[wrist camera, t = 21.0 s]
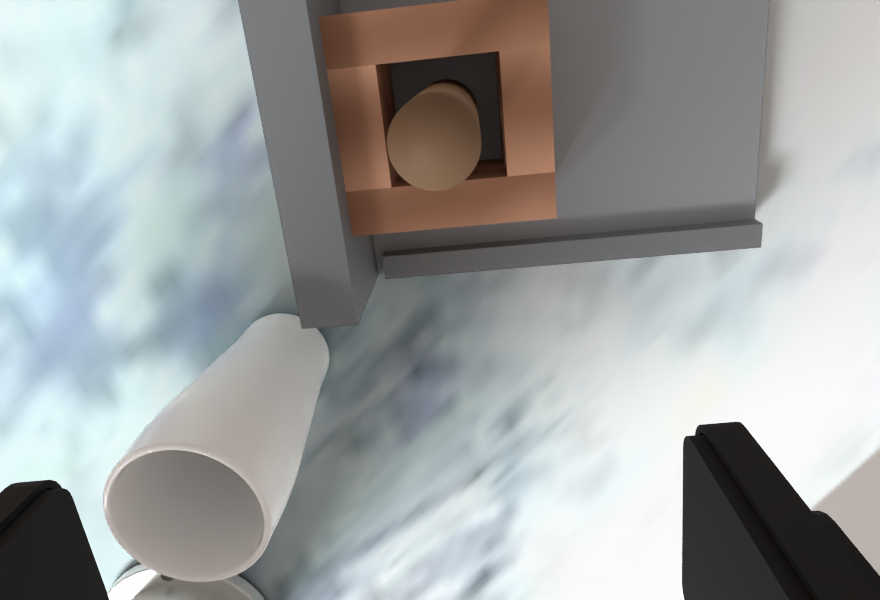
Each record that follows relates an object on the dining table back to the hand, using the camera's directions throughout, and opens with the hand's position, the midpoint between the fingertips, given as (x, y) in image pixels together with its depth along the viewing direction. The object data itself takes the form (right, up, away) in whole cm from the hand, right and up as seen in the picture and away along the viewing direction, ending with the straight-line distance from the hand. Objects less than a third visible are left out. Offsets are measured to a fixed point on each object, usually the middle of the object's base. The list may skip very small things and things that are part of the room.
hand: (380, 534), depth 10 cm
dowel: (+1, +13, +22) cm, 25 cm away
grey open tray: (+5, +14, +24) cm, 28 cm away
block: (+1, +13, +22) cm, 25 cm away
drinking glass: (-8, +1, +30) cm, 31 cm away
